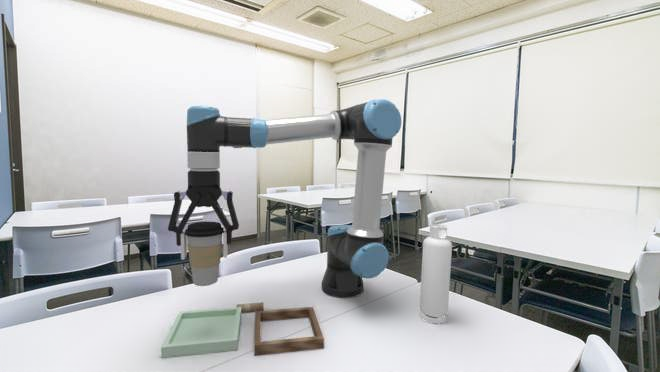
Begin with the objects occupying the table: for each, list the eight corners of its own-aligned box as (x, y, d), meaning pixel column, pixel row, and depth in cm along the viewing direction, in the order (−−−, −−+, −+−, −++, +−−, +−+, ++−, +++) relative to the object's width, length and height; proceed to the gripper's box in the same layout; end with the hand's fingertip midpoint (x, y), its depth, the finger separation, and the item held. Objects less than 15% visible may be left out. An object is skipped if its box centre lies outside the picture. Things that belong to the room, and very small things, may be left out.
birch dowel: (263, 302, 99) (263, 301, 97) (263, 311, 98) (263, 310, 96) (236, 304, 98) (236, 303, 96) (236, 313, 97) (236, 312, 95)
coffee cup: (211, 291, 77) (210, 230, 75) (177, 286, 79) (175, 227, 77) (231, 276, 86) (231, 222, 85) (199, 273, 88) (199, 219, 86)
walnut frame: (312, 314, 96) (312, 306, 95) (323, 348, 79) (323, 338, 79) (255, 319, 92) (255, 311, 92) (254, 355, 76) (254, 345, 75)
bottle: (436, 309, 101) (441, 222, 98) (453, 322, 93) (459, 228, 91) (413, 312, 99) (418, 223, 96) (429, 325, 91) (435, 229, 88)
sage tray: (241, 315, 94) (241, 306, 94) (237, 350, 78) (237, 340, 77) (179, 320, 90) (179, 311, 90) (161, 357, 74) (161, 347, 74)
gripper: (249, 169, 86) (249, 250, 88) (160, 168, 81) (162, 254, 83) (248, 171, 78) (248, 259, 81) (150, 169, 74) (153, 263, 76)
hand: (205, 256), depth 82 cm, fingers closed on coffee cup, 9 cm apart
